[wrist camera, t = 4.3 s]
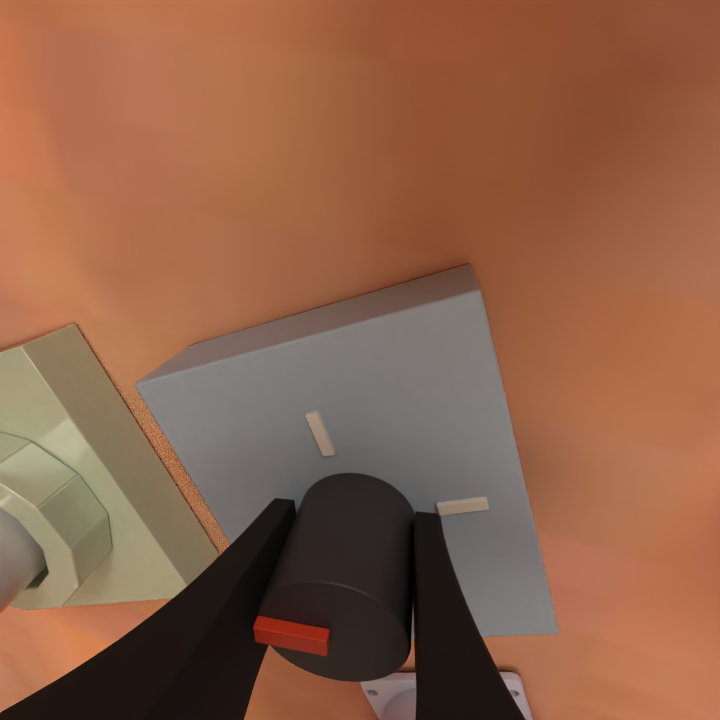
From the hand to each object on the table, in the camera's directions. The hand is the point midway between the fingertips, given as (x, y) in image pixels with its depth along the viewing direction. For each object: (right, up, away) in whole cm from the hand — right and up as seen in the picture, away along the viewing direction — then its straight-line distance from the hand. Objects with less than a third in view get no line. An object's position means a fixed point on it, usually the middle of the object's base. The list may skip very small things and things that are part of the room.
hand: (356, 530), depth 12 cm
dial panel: (+1, +1, +3) cm, 3 cm away
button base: (-13, 0, +6) cm, 15 cm away
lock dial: (0, 0, 0) cm, 0 cm away
